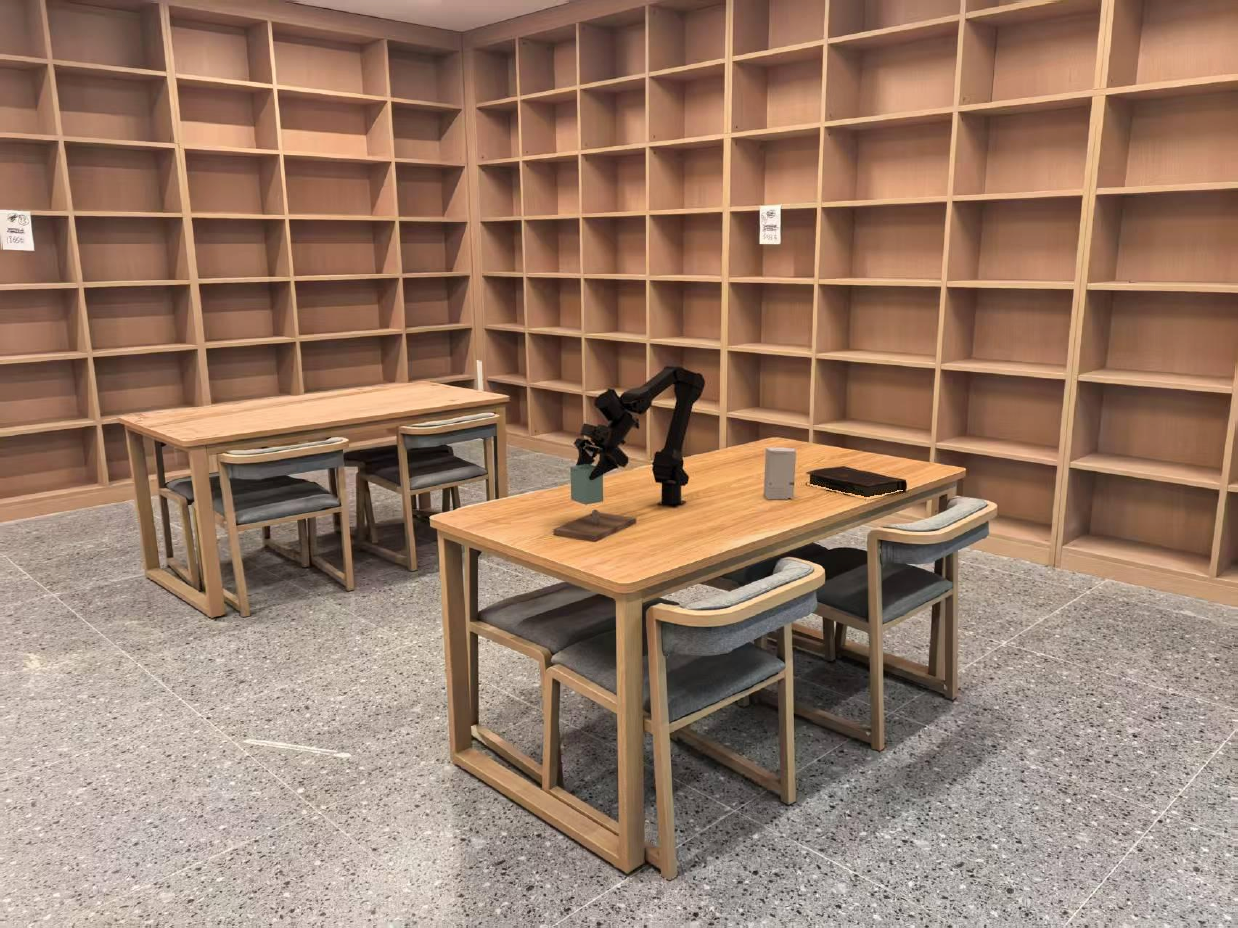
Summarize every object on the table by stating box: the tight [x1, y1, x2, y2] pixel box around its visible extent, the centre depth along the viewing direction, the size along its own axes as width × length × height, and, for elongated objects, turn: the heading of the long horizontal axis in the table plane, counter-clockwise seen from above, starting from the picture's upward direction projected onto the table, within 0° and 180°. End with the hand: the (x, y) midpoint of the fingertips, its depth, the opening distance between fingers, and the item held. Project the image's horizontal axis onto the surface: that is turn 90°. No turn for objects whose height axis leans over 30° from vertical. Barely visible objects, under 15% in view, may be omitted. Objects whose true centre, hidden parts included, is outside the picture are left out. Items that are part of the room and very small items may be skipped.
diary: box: [805, 465, 908, 497], centre depth 286 cm, size 19×25×5 cm
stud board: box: [553, 509, 637, 543], centre depth 244 cm, size 20×13×5 cm, turn 149°
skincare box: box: [763, 446, 797, 500], centre depth 275 cm, size 8×6×15 cm
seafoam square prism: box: [569, 464, 604, 506], centre depth 245 cm, size 6×7×9 cm
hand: (582, 476), depth 244 cm, fingers closed on seafoam square prism, 7 cm apart
